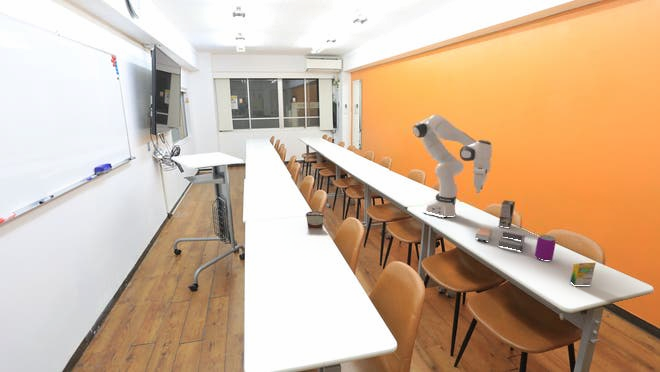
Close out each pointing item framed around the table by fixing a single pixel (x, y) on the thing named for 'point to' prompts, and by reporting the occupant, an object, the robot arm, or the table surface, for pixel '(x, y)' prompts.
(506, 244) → the dock bay
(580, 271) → the crayon box
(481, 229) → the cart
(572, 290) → the table surface
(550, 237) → the beverage can
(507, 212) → the coffee box
